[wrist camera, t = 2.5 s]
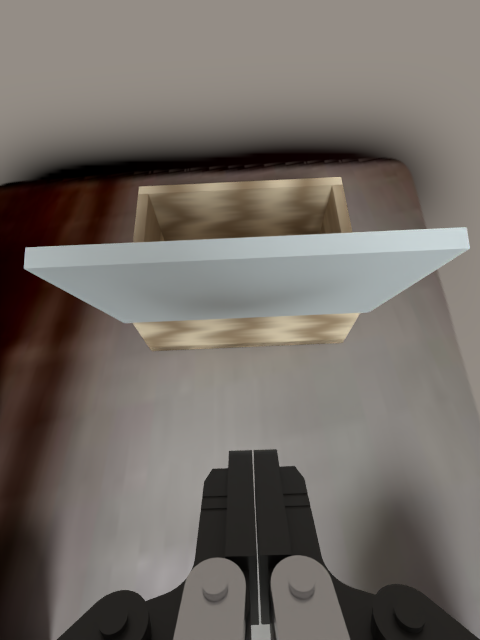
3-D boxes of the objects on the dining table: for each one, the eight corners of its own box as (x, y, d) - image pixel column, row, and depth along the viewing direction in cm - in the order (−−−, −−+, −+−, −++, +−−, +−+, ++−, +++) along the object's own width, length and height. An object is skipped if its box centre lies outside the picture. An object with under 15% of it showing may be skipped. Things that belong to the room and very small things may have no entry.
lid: (124, 311, 31) (124, 323, 31) (25, 247, 17) (24, 268, 17) (367, 300, 31) (368, 312, 30) (466, 227, 17) (469, 248, 17)
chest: (151, 350, 39) (125, 312, 31) (159, 242, 45) (139, 186, 37) (342, 342, 39) (366, 301, 31) (324, 235, 45) (340, 177, 37)
